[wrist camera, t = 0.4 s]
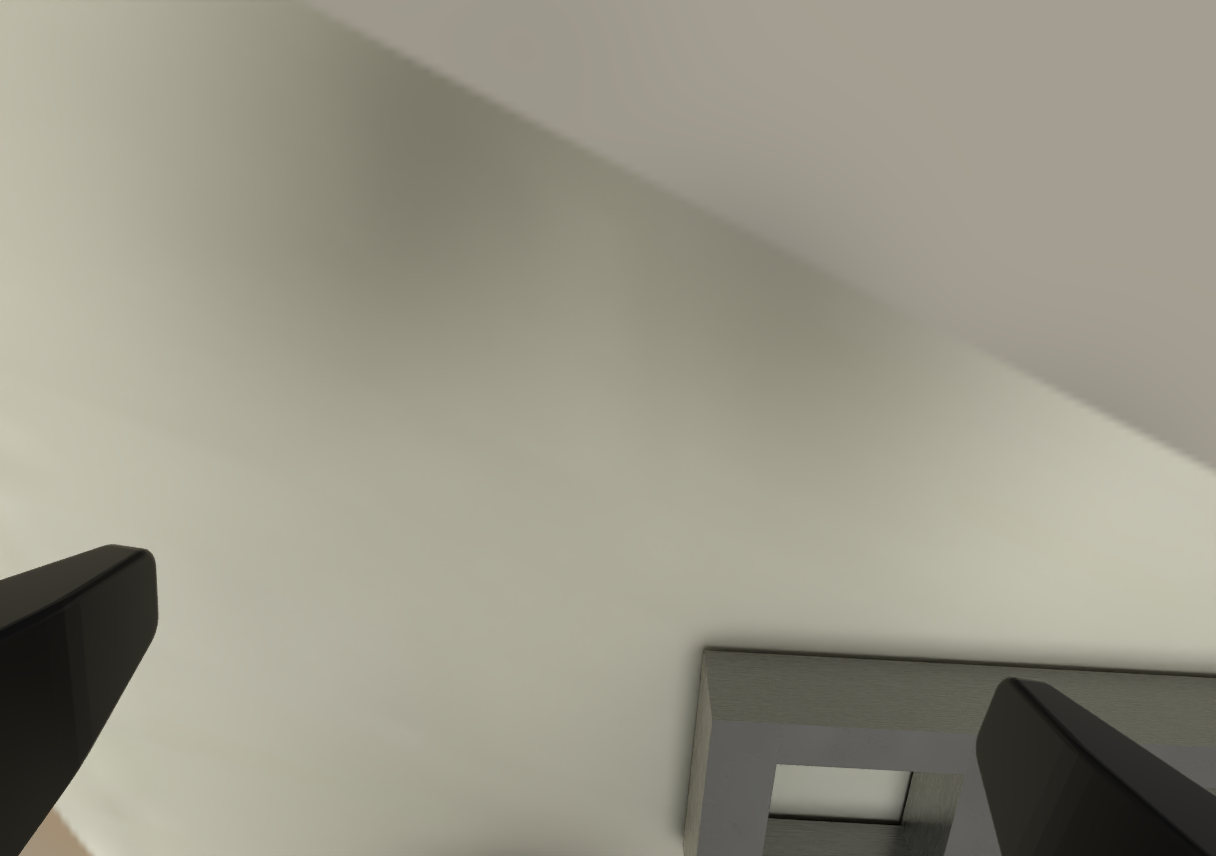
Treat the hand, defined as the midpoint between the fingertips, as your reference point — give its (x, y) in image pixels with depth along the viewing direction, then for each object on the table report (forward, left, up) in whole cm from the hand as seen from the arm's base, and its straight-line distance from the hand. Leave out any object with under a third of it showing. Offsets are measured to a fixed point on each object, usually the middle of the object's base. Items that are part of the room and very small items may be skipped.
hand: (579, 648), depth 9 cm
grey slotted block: (-14, -12, -14) cm, 23 cm away
